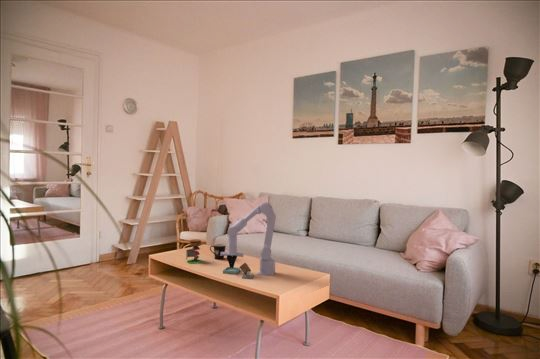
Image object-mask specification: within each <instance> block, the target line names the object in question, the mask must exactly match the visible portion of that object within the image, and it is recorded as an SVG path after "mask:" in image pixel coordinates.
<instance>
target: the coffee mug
mask: <svg viewBox="0 0 540 359" xmlns="http://www.w3.org/2000/svg"><path fill="white" fill-rule="evenodd" d="M226 247H227V246H226V244H224V243H216V244H213V245H210V247H209V250H210V252H211V253H213V255H214V260H218V261H219V260H220V261H221V260H224V259H225V256H224V255H222V256H220V253H221V252H226ZM212 248H213V250H212Z"/></svg>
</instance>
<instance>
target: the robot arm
mask: <svg viewBox="0 0 540 359" xmlns="http://www.w3.org/2000/svg"><path fill="white" fill-rule="evenodd" d="M261 214H263V215H265V217H266V218H267V226H266V231H265V238H264V242H263V246H262V249H261V251H260V258H259V272H258V273H257V275H262V276H274V274H275V273H276V260H275V259H272V257H271V256H272V249H271V247H272V243H273V242H272V241H273V235H274V229H275V224H276V219H277V218H276V217H277V216H276V213H275V211H274V209H273V207H272V205H271V204H270V203H269V202H267V201H264V202H262V203H261V204H259V205H258V206H256V207H255V208H253V209H252V210H251V211H250V212H249V213H248V214H247V215H246V216H245V217H240V218H238V219H237V221H236V222H235V223H234V224H231V226H230V227H229V228H227V229H228V230H227V235H228V236H227V251H225V252H221V253H220V256H222V255H224V257H225V256H226V259H227V261H228V265H229V266H228V267H230V268H231V267H232V268H233V267H235V264H236V263H235V262H236V260H237V258H238V257H240V258H244V255H245V254H244V253H243V252H238V251H237V250H238V249H237V248H238V233H239V232H241V231H242V230H243V229H244V228H246V226H247V225H248V222H249V221H251V219H253V218H254V217H255V216H256V215H261Z"/></svg>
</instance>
